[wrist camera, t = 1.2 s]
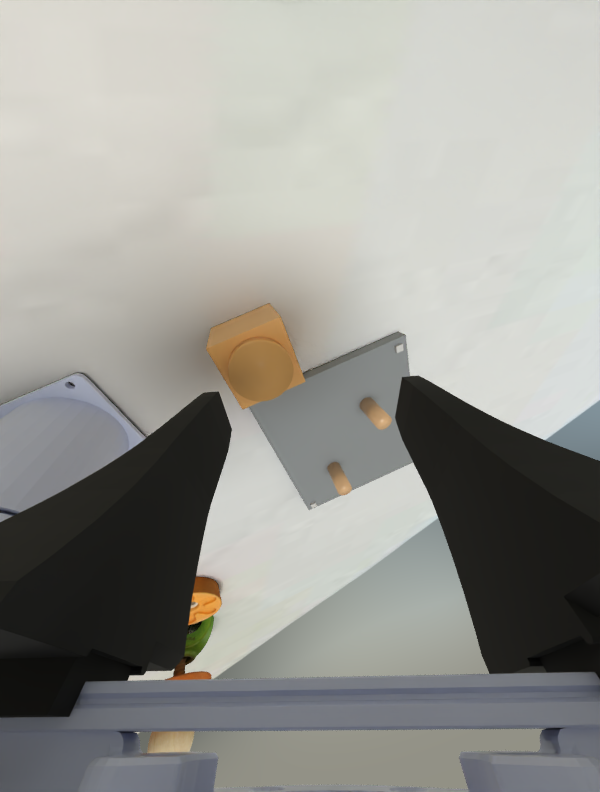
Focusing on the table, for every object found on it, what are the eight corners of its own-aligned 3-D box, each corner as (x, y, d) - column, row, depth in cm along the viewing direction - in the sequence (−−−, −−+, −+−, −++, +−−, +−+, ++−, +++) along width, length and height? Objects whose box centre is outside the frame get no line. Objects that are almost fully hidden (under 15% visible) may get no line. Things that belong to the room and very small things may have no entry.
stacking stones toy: (238, 571, 33) (242, 720, 22) (206, 633, 39) (197, 771, 29) (70, 578, 26) (-40, 800, 15) (64, 652, 32) (-17, 845, 22)
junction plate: (306, 502, 29) (316, 535, 26) (246, 398, 20) (250, 426, 17) (413, 453, 29) (436, 479, 26) (398, 331, 21) (431, 346, 17)
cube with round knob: (240, 379, 19) (243, 418, 15) (211, 328, 17) (204, 355, 12) (290, 357, 20) (310, 388, 15) (269, 303, 17) (283, 320, 13)
